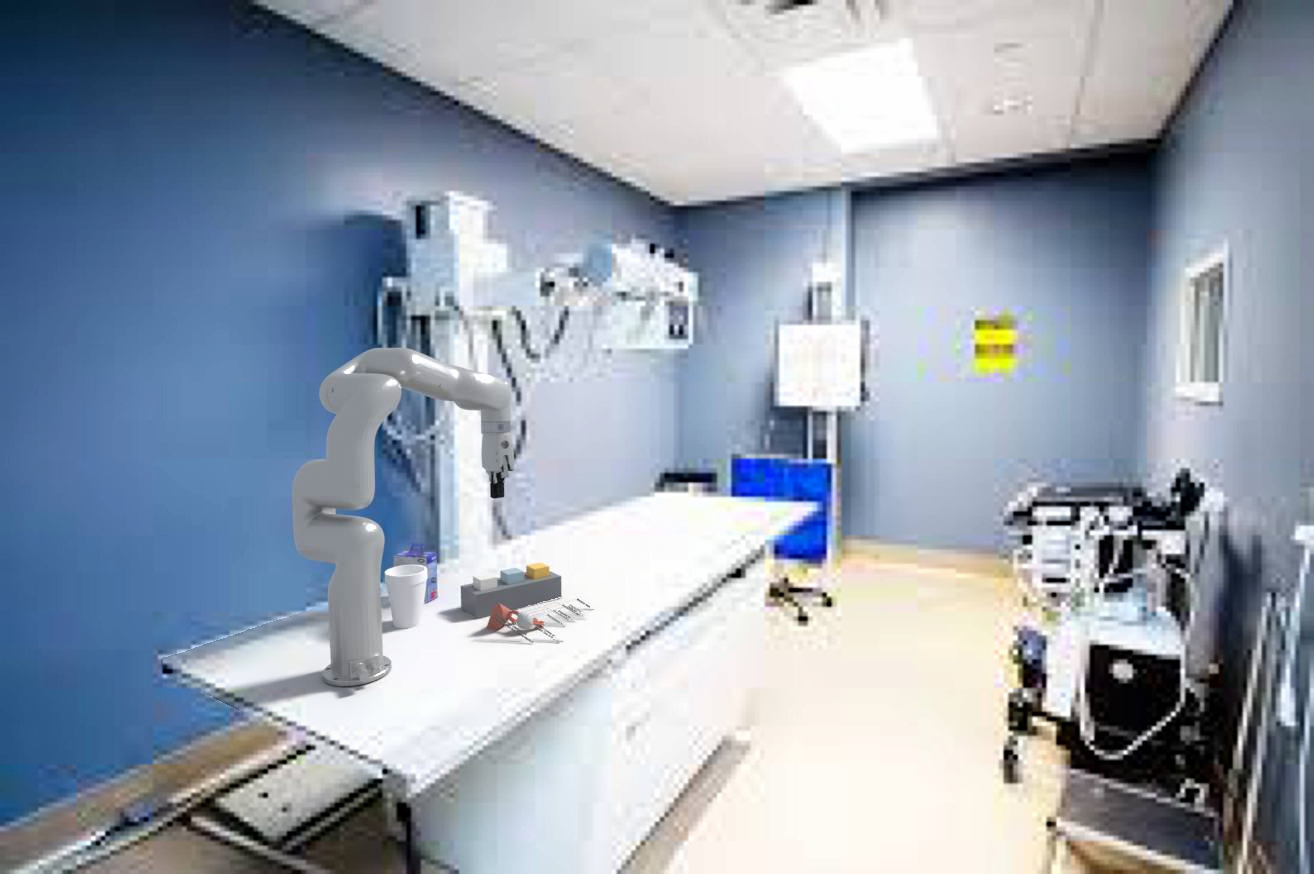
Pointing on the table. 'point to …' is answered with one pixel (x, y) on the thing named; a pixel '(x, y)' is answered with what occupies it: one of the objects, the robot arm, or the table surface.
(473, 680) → the table surface
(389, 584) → the foam cup
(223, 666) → the table surface
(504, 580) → the light blue cube
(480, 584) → the white cube
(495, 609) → the anatomical diagram
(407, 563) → the ink cartridge box
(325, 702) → the table surface
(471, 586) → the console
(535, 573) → the amber button
